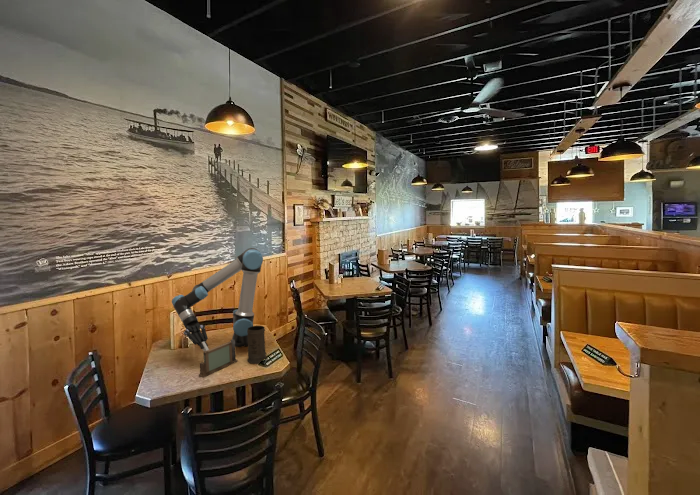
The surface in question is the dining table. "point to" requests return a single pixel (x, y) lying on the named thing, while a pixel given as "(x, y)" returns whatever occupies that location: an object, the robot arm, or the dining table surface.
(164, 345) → the dining table surface
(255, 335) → the beer stein
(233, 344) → the gate frame
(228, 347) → the gate
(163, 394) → the dining table surface
